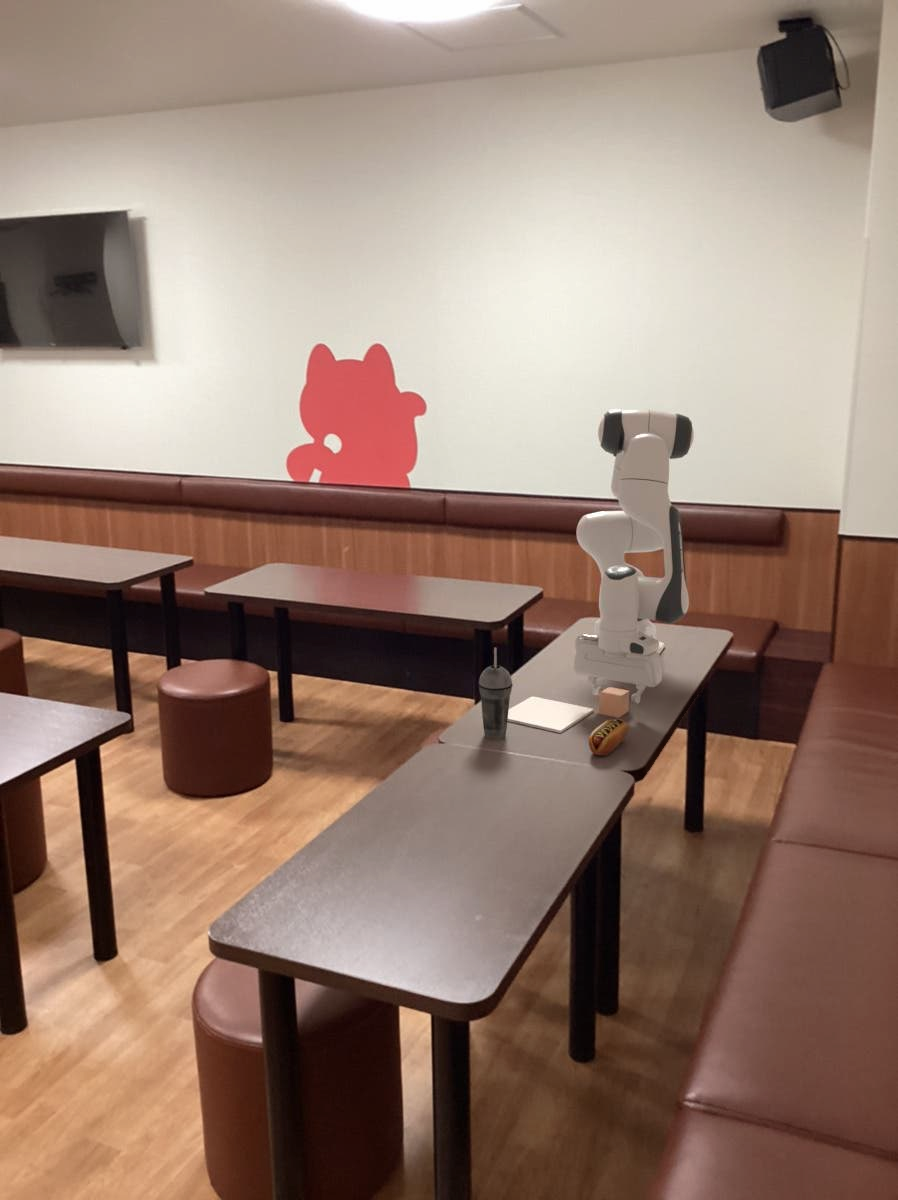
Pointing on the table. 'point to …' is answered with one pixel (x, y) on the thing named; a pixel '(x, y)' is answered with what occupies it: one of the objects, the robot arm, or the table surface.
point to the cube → (613, 702)
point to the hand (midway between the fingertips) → (616, 698)
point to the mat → (547, 714)
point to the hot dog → (607, 736)
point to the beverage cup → (495, 699)
